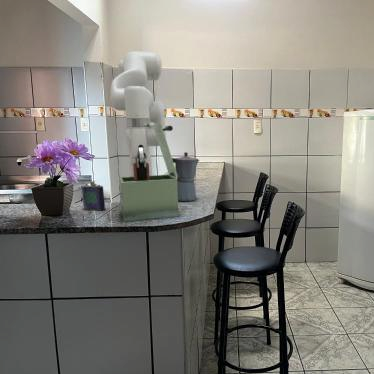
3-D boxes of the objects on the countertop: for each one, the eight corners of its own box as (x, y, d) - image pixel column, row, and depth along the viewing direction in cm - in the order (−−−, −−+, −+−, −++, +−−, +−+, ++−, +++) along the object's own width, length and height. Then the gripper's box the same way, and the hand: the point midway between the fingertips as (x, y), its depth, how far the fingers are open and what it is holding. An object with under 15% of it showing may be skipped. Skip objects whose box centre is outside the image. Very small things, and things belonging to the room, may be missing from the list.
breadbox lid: (158, 123, 116) (172, 119, 118) (152, 124, 130) (165, 121, 131) (175, 178, 121) (189, 173, 122) (168, 173, 134) (180, 169, 136)
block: (133, 179, 125) (132, 162, 124) (148, 178, 127) (147, 162, 126) (134, 180, 120) (133, 163, 120) (149, 179, 122) (148, 163, 121)
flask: (82, 209, 136) (79, 181, 135) (87, 207, 139) (85, 180, 138) (102, 210, 134) (100, 182, 132) (107, 209, 136) (105, 181, 135)
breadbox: (123, 221, 116) (121, 182, 114) (121, 212, 130) (119, 177, 128) (178, 216, 123) (177, 178, 121) (171, 208, 136) (169, 174, 134)
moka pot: (206, 198, 155) (204, 152, 152) (175, 204, 144) (173, 153, 141) (193, 196, 161) (191, 151, 158) (162, 201, 151) (160, 153, 148)
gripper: (124, 125, 127) (128, 176, 130) (127, 123, 112) (131, 182, 114) (146, 125, 130) (149, 175, 133) (152, 123, 114) (155, 180, 117)
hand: (141, 178), depth 124 cm, fingers closed on block, 5 cm apart
